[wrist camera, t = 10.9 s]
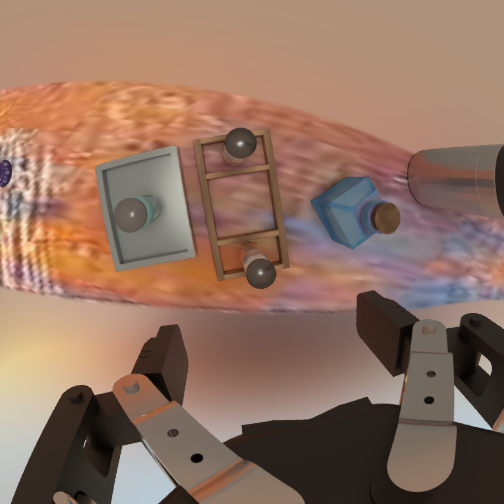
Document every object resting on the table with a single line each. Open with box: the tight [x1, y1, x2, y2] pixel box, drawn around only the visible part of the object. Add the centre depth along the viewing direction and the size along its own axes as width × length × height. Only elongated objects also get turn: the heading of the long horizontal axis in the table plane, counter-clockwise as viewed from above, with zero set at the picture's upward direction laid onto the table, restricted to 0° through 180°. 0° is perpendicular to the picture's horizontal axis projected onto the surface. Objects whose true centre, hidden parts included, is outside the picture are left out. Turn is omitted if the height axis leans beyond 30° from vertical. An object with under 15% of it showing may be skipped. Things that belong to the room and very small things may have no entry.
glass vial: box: [223, 128, 257, 166], centre depth 29 cm, size 3×3×10 cm
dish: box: [95, 145, 197, 272], centre depth 33 cm, size 11×14×2 cm
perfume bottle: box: [310, 177, 400, 249], centre depth 31 cm, size 6×6×12 cm
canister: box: [239, 242, 276, 289], centre depth 32 cm, size 3×3×10 cm
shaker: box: [114, 195, 160, 233], centre depth 30 cm, size 4×4×7 cm
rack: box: [194, 129, 290, 281], centre depth 35 cm, size 9×18×2 cm, turn 9°
